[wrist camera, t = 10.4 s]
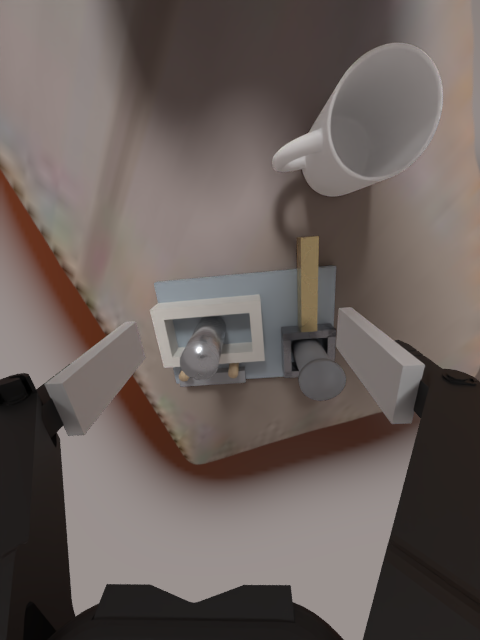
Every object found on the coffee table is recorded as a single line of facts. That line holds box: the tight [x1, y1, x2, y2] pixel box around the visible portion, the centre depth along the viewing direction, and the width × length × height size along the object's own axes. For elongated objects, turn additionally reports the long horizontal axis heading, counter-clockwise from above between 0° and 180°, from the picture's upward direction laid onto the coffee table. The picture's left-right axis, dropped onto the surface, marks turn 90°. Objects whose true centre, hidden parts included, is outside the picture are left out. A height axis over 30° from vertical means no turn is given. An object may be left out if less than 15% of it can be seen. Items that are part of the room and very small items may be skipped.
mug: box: [272, 43, 443, 197], centre depth 22 cm, size 12×8×10 cm
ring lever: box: [281, 236, 336, 378], centre depth 31 cm, size 18×7×2 cm, turn 6°
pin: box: [180, 316, 226, 380], centre depth 29 cm, size 4×4×10 cm
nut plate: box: [150, 265, 346, 401], centre depth 30 cm, size 16×24×10 cm, turn 96°
